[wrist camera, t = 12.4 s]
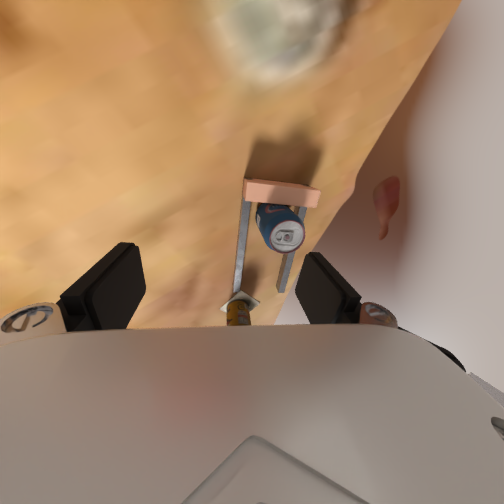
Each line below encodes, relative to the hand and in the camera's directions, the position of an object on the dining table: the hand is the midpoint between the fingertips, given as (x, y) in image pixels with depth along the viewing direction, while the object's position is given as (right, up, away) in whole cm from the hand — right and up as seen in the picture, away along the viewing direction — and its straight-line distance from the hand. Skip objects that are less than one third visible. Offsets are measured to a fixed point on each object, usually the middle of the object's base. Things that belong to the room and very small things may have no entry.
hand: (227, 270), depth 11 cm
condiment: (-2, -14, +40) cm, 43 cm away
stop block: (+6, +14, +26) cm, 30 cm away
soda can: (+5, +9, +29) cm, 31 cm away
